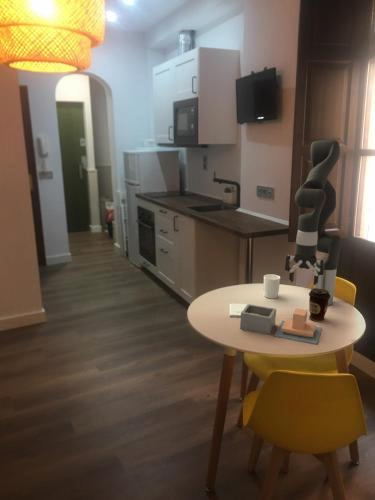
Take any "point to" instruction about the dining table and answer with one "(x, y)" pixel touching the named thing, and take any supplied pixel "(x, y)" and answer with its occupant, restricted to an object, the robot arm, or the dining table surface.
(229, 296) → the dining table surface
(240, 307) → the external hard drive
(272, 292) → the white cup
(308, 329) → the lid
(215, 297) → the dining table surface
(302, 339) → the mat
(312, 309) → the coffee cup
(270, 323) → the storage box
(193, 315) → the dining table surface
